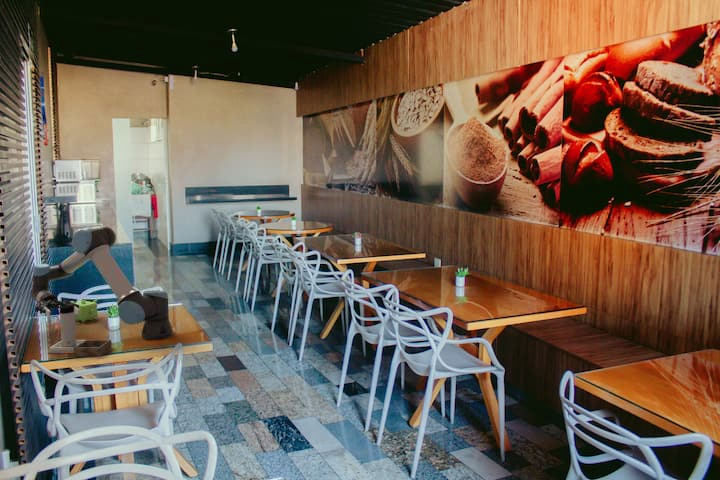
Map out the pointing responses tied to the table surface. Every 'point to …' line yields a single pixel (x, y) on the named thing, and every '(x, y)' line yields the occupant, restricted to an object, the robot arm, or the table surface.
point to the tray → (59, 349)
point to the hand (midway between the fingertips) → (64, 313)
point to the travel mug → (68, 326)
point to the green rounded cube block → (86, 310)
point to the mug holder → (92, 348)
